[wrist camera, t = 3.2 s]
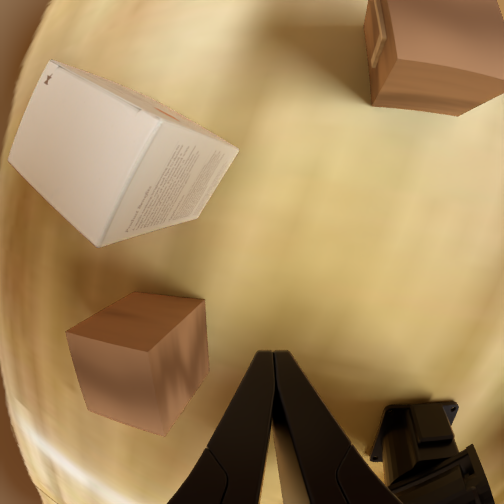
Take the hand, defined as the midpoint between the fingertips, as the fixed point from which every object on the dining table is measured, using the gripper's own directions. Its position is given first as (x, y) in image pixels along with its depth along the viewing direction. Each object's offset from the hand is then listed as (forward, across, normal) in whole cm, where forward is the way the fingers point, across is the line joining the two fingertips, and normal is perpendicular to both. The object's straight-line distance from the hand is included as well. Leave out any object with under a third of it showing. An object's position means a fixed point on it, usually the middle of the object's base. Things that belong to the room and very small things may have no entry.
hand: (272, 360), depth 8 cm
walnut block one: (+12, +7, +10) cm, 17 cm away
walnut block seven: (+14, -10, -9) cm, 19 cm away
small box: (+16, +6, -2) cm, 17 cm away
